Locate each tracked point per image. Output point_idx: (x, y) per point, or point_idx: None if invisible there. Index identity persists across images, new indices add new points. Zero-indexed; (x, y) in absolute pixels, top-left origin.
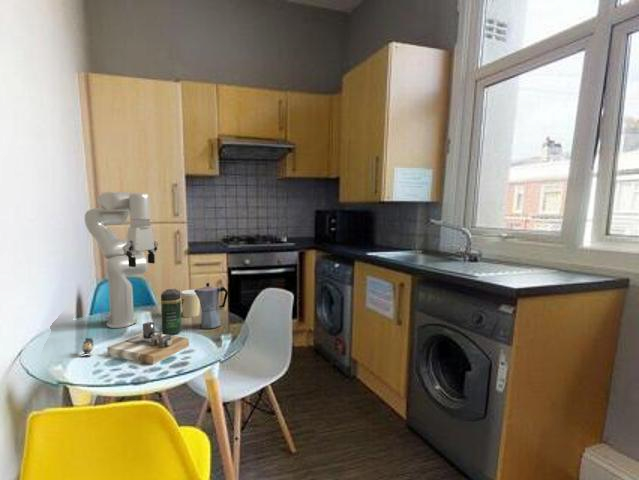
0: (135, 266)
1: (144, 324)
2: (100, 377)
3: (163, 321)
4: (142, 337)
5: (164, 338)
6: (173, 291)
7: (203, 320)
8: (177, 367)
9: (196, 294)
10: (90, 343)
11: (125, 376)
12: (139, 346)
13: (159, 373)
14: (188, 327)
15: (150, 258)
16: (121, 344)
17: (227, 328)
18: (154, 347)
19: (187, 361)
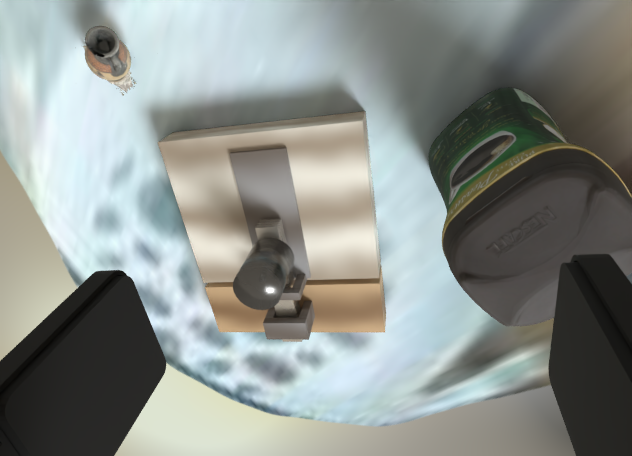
0: (157, 370)
1: (241, 281)
2: (101, 258)
3: (437, 176)
4: (257, 234)
5: (275, 338)
6: (535, 300)
7: None
8: (256, 373)
9: None
10: (107, 71)
11: (147, 305)
12: (236, 241)
13: (209, 359)
14: None
15: (588, 404)
16: (205, 166)
17: None
18: None
19: (295, 373)
